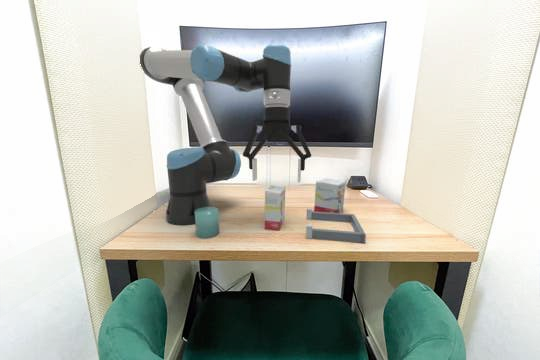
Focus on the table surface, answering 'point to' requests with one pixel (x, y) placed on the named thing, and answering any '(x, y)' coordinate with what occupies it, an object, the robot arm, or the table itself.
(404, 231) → the table surface
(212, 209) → the teal rounded cylinder
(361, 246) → the table surface
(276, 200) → the ink box
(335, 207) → the ink box
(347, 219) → the u-shaped handle bar
